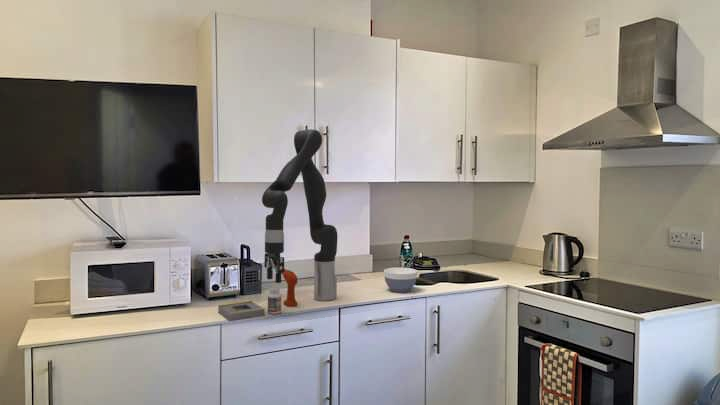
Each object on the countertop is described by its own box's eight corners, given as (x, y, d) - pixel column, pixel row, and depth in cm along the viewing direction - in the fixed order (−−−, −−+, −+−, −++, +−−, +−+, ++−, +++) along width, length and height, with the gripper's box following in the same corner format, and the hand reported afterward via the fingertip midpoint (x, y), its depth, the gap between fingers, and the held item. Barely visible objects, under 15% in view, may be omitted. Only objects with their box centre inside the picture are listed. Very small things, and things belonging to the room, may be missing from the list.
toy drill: (283, 293, 230) (285, 261, 227) (299, 308, 213) (300, 273, 211) (273, 294, 227) (274, 262, 225) (288, 309, 211) (289, 275, 209)
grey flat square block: (251, 307, 211) (251, 300, 210) (264, 315, 199) (264, 308, 199) (218, 312, 203) (218, 305, 203) (230, 320, 191) (230, 313, 191)
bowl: (422, 289, 246) (423, 269, 245) (407, 295, 232) (407, 275, 232) (394, 285, 254) (394, 266, 254) (377, 291, 241) (377, 271, 241)
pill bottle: (278, 314, 200) (278, 290, 200) (265, 313, 201) (265, 289, 201) (283, 310, 206) (283, 287, 205) (270, 310, 206) (270, 286, 206)
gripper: (290, 242, 198) (290, 283, 199) (275, 238, 210) (275, 277, 211) (272, 243, 194) (272, 285, 195) (258, 239, 206) (258, 278, 206)
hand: (273, 280), depth 203 cm, fingers open, 8 cm apart
